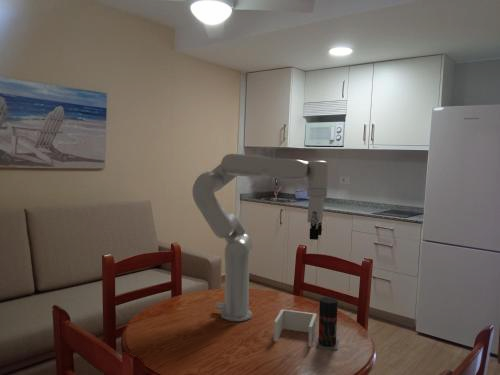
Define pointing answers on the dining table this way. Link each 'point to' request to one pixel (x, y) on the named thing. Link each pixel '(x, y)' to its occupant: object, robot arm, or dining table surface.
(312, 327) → the u-shaped bracket
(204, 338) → the dining table surface
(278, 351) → the dining table surface
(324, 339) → the deodorant
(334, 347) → the coaster
